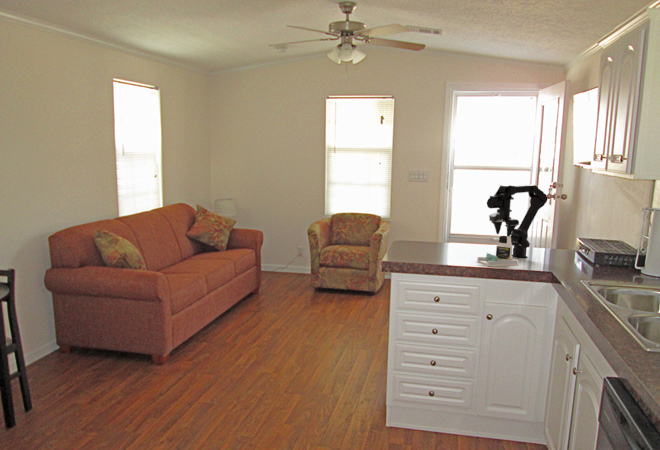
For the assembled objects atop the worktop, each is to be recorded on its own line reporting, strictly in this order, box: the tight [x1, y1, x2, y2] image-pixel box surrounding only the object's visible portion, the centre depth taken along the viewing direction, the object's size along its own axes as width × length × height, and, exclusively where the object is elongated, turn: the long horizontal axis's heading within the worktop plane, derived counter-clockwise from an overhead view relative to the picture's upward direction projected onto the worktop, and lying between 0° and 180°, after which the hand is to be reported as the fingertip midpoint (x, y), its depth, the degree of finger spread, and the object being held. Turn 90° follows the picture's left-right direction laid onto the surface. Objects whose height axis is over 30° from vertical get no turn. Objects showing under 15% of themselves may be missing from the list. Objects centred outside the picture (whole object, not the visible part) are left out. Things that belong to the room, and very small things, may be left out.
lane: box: [476, 256, 519, 267], centre depth 270 cm, size 17×12×2 cm
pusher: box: [477, 252, 497, 261], centre depth 268 cm, size 8×8×4 cm
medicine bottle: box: [495, 235, 513, 260], centre depth 270 cm, size 7×7×12 cm
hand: (502, 235), depth 281 cm, fingers open, 9 cm apart
